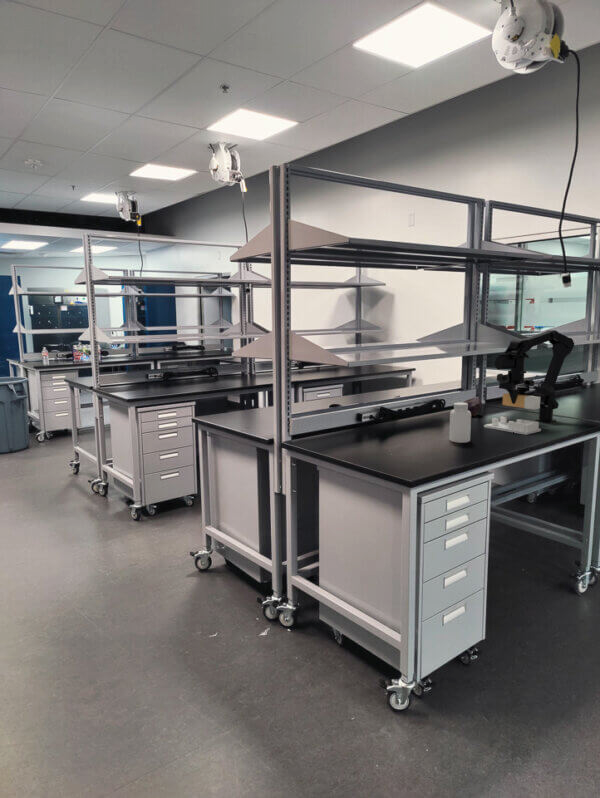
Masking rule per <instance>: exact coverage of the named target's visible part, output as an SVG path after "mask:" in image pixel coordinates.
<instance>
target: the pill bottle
mask: <svg viewBox="0 0 600 798" xmlns="http://www.w3.org/2000/svg"><path fill="white" fill-rule="evenodd" d="M467 409H468V404H467V403H463V402H460V401H459V402H458V401H457V402H455V403H453V409H452V410H450V413H449V437H448V438H449V441H451V442H452V443H453V442H454V443H460V444H461V443H462V444H463V443H465V444H466V443H469V442H470V441H471V429H472V427H471V426H472V416H471V412H470V411H469V410H467Z"/></svg>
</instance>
